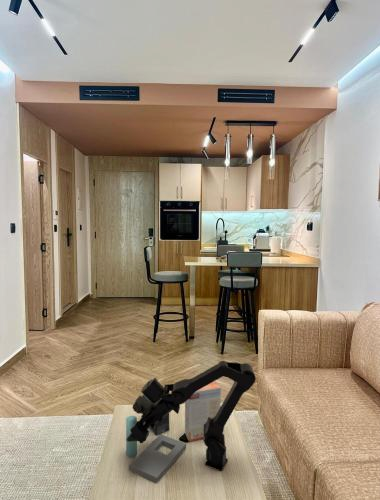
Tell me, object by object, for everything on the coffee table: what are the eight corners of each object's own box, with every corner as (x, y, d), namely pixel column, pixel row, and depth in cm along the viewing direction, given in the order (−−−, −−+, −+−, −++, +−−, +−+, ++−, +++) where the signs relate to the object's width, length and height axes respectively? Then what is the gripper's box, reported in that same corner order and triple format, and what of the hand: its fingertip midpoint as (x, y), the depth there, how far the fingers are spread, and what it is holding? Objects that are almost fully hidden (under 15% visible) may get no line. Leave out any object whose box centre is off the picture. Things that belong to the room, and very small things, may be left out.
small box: (141, 420, 148) (141, 394, 147) (155, 415, 152) (155, 390, 151) (155, 436, 137) (155, 408, 136) (169, 430, 141) (170, 403, 140)
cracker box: (214, 427, 143) (216, 380, 142) (220, 435, 138) (221, 387, 136) (184, 433, 139) (184, 385, 137) (188, 442, 133) (189, 392, 131)
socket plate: (186, 448, 129) (186, 443, 129) (156, 483, 112) (156, 477, 112) (160, 438, 135) (160, 433, 135) (128, 470, 118) (128, 464, 118)
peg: (138, 452, 127) (139, 417, 126) (132, 458, 123) (132, 423, 122) (130, 448, 129) (130, 414, 128) (123, 455, 125) (123, 419, 124)
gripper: (155, 380, 132) (129, 403, 135) (136, 405, 113) (106, 430, 117) (173, 402, 130) (146, 424, 134) (157, 431, 112) (127, 455, 116)
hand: (132, 432), depth 125 cm, fingers open, 9 cm apart
